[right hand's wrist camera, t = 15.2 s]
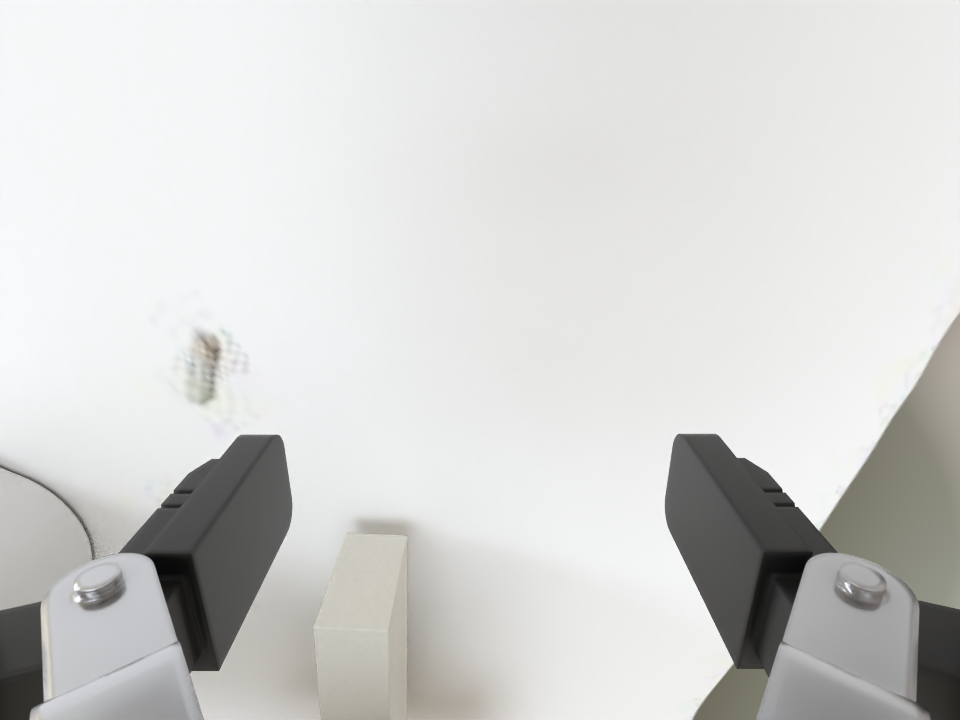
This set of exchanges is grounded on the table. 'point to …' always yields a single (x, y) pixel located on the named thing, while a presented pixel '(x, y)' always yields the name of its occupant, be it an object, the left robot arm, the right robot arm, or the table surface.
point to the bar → (364, 631)
